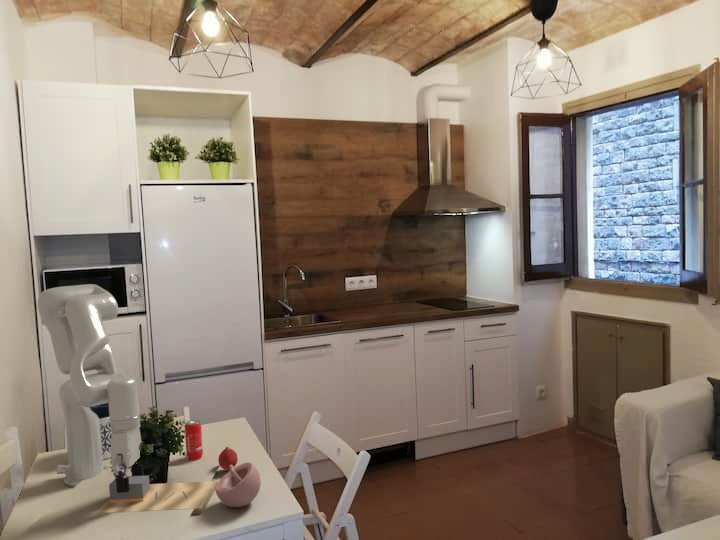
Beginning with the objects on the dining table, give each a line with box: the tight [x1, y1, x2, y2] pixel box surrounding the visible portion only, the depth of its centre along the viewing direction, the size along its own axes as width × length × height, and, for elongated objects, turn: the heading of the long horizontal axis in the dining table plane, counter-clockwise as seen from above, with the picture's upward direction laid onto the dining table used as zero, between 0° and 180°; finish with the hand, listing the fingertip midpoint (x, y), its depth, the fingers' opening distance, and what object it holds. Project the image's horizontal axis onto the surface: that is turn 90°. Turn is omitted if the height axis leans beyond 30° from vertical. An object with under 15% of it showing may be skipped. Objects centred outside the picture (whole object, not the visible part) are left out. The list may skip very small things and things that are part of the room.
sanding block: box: [108, 474, 151, 503], centre depth 153 cm, size 9×5×5 cm, turn 90°
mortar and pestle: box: [215, 461, 261, 508], centre depth 149 cm, size 12×12×12 cm
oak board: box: [95, 480, 218, 515], centre depth 153 cm, size 28×16×2 cm, turn 90°
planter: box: [90, 405, 112, 461], centre depth 190 cm, size 16×16×14 cm
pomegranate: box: [217, 446, 239, 472], centre depth 171 cm, size 6×6×8 cm
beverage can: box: [184, 419, 204, 461], centre depth 182 cm, size 5×5×12 cm
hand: (130, 484), depth 152 cm, fingers open, 9 cm apart
